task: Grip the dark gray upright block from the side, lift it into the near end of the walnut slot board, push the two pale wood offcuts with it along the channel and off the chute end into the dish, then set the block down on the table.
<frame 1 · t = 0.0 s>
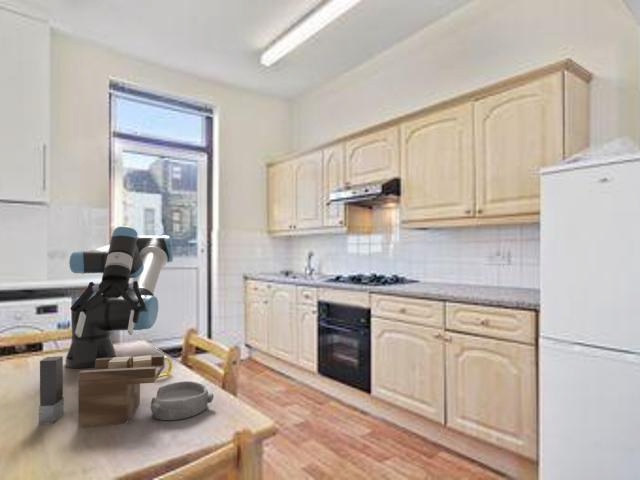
hand: (104, 334, 117), 15 cm above the table, tool tilted 35°, fingers open, 13 cm apart
chip a: (120, 371, 99), point 10 cm above the table, touching slot board
chip b: (142, 370, 100), point 10 cm above the table, touching slot board
slot board: (124, 413, 99), on the table
dish: (181, 411, 102), on the table
dark gray upright block: (51, 418, 97), on the table
bread roll: (99, 394, 113), on the table
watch: (161, 376, 128), on the table
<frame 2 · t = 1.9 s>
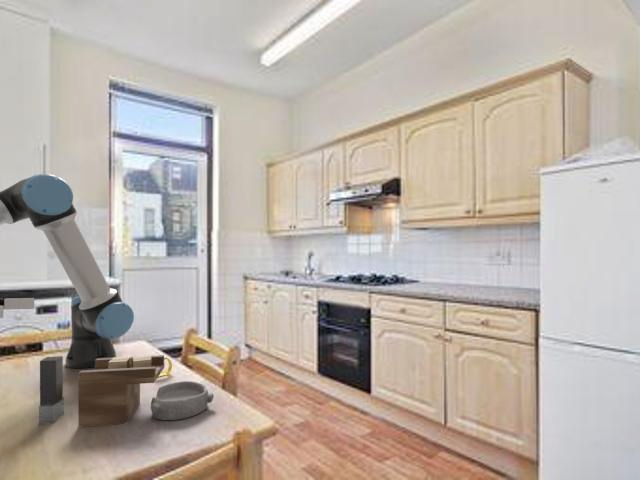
hand: (19, 307, 99), 26 cm above the table, tool horizontal, fingers open, 13 cm apart
nothing on the table moved.
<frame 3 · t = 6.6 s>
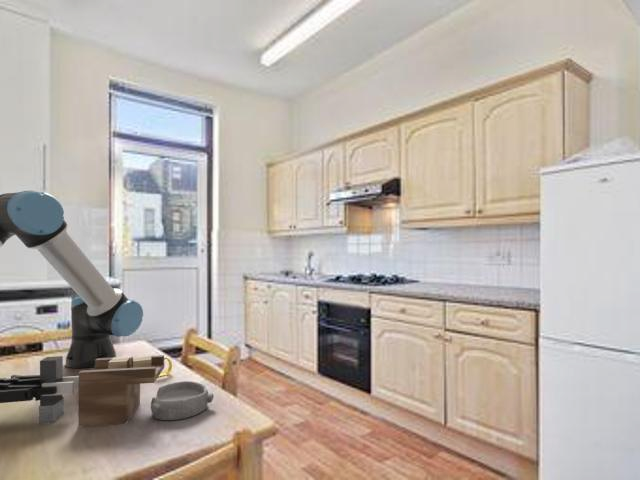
hand: (76, 384, 98), 8 cm above the table, tool horizontal, fingers closed on dark gray upright block, 3 cm apart
dark gray upright block: (51, 418, 97), on the table, touching gripper
everything else where it was.
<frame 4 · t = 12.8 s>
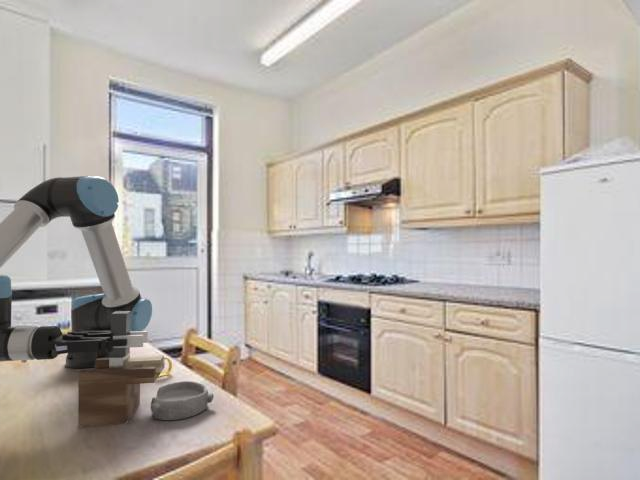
hand: (144, 338, 99), 18 cm above the table, tool horizontal, fingers closed on dark gray upright block, 3 cm apart
chip a: (136, 371, 100), point 10 cm above the table, touching chip b, dark gray upright block
chip b: (153, 370, 100), point 10 cm above the table, touching chip a
dark gray upright block: (119, 371, 98), point 10 cm above the table, touching chip a, gripper
everything else where it was.
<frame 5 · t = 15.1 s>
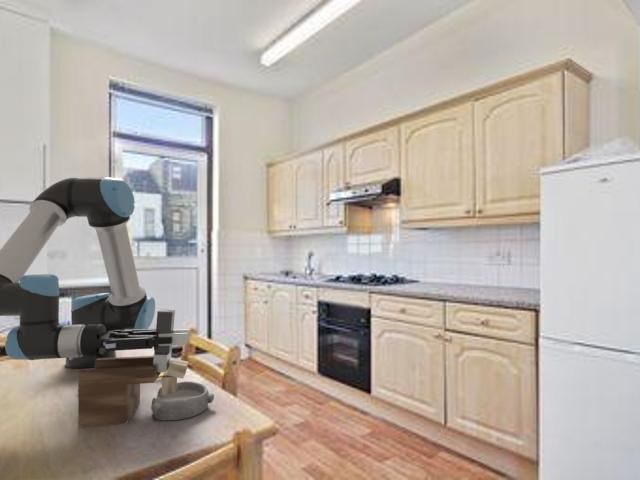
hand: (188, 336, 101), 18 cm above the table, tool horizontal, fingers closed on dark gray upright block, 3 cm apart
chip a: (176, 374, 101), point 9 cm above the table, tilted 15°
chip b: (163, 383, 101), point 7 cm above the table, tilted 90°, touching dish
dish: (181, 411, 102), on the table, touching chip b
dark gray upright block: (161, 368, 100), point 10 cm above the table, touching gripper
everything else where it was.
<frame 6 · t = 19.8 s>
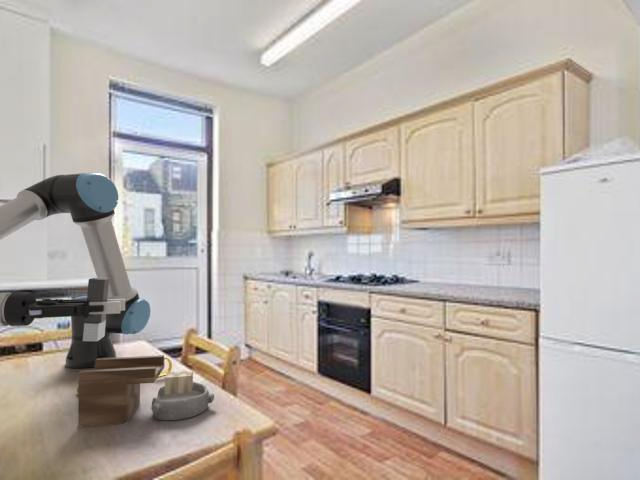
hand: (122, 306, 98), 26 cm above the table, tool horizontal, fingers closed on dark gray upright block, 3 cm apart
chip a: (179, 382, 102), point 7 cm above the table, tilted 90°, touching dish
dish: (181, 411, 102), on the table, touching chip a, chip b
dark gray upright block: (94, 338, 97), point 19 cm above the table, touching gripper
when the fingers open (8 cm above the table, at t = 24.2 s): dark gray upright block stays where it is, on the table.
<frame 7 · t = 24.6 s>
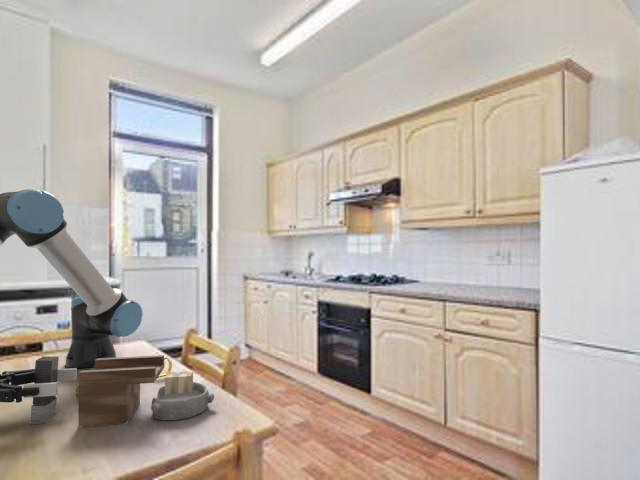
hand: (67, 381, 97), 8 cm above the table, tool horizontal, fingers open, 10 cm apart
dark gray upright block: (43, 418, 96), on the table
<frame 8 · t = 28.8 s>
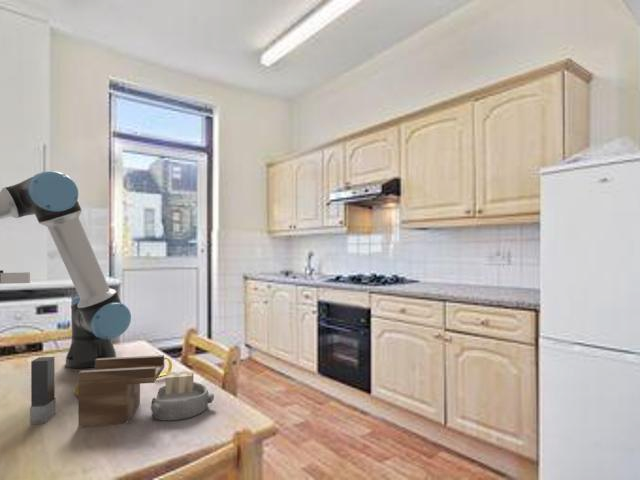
hand: (14, 280, 101), 32 cm above the table, tool horizontal, fingers open, 13 cm apart
at the end: chip a inside the target area in the dish (0.4 cm from its centre), point 7.2 cm above the dish's base; chip b inside the target area in the dish (3.4 cm from its centre), point 7.2 cm above the dish's base; the gripper is holding nothing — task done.
